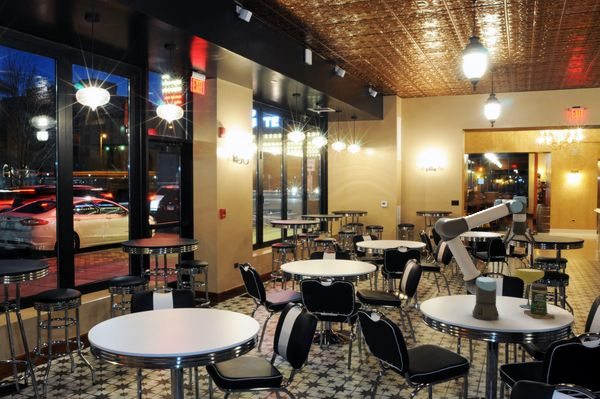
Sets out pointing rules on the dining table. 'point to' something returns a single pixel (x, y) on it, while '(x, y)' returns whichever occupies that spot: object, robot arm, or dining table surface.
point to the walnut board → (538, 315)
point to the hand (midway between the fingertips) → (518, 254)
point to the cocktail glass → (528, 278)
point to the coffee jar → (539, 299)
